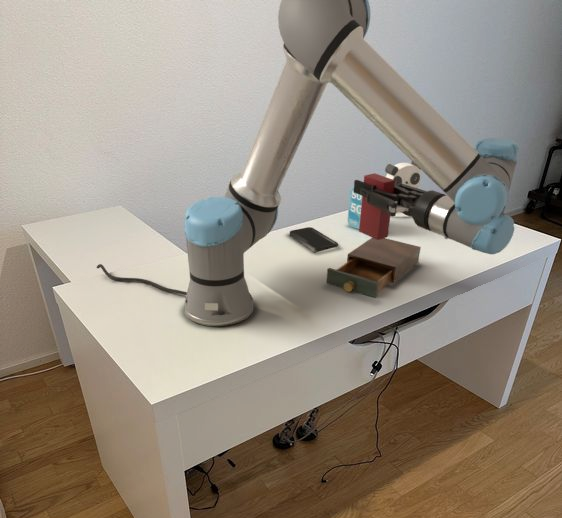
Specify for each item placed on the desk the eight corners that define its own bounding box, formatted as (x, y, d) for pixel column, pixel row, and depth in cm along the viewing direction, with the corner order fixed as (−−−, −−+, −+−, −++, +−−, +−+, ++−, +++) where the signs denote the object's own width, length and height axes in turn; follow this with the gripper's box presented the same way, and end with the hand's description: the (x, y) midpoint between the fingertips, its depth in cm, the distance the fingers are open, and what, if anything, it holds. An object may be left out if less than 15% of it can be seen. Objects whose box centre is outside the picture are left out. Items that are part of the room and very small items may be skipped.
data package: (346, 225, 164) (350, 185, 157) (356, 222, 167) (359, 182, 160) (378, 236, 157) (383, 195, 150) (387, 232, 160) (393, 191, 153)
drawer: (371, 304, 123) (374, 285, 120) (323, 289, 129) (324, 271, 126) (402, 277, 134) (405, 260, 132) (356, 265, 140) (358, 248, 138)
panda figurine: (393, 219, 169) (399, 170, 160) (373, 208, 177) (378, 161, 168) (424, 214, 173) (432, 165, 164) (403, 203, 181) (409, 157, 172)
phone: (310, 226, 160) (339, 243, 149) (310, 230, 160) (339, 247, 150) (287, 231, 157) (315, 249, 146) (287, 235, 157) (315, 253, 147)
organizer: (392, 287, 131) (395, 267, 128) (345, 273, 137) (347, 254, 134) (417, 266, 141) (420, 246, 138) (372, 254, 147) (374, 235, 144)
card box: (358, 231, 128) (364, 175, 121) (368, 228, 130) (374, 173, 122) (377, 240, 124) (384, 182, 116) (387, 237, 126) (395, 180, 118)
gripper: (408, 239, 107) (333, 207, 123) (462, 223, 115) (385, 194, 131) (413, 202, 103) (335, 173, 119) (469, 188, 111) (389, 162, 126)
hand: (361, 184), depth 125 cm, fingers closed on card box, 3 cm apart
